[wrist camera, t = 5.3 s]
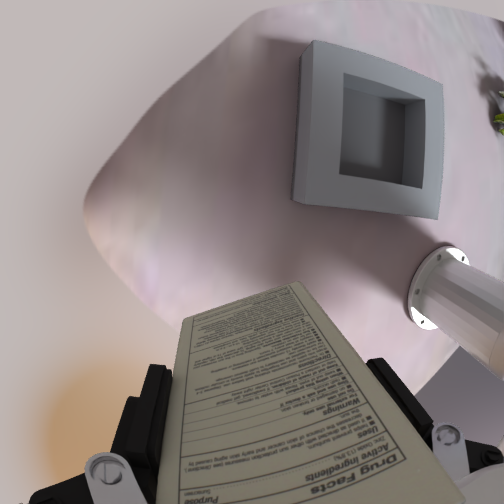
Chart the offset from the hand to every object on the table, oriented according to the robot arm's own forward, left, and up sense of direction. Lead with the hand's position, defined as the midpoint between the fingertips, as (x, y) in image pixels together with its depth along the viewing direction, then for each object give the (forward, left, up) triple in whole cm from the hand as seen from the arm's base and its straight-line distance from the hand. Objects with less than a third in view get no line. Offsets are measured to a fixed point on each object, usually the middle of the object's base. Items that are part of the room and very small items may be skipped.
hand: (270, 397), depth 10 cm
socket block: (-13, -14, -21) cm, 29 cm away
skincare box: (0, 0, -5) cm, 5 cm away
